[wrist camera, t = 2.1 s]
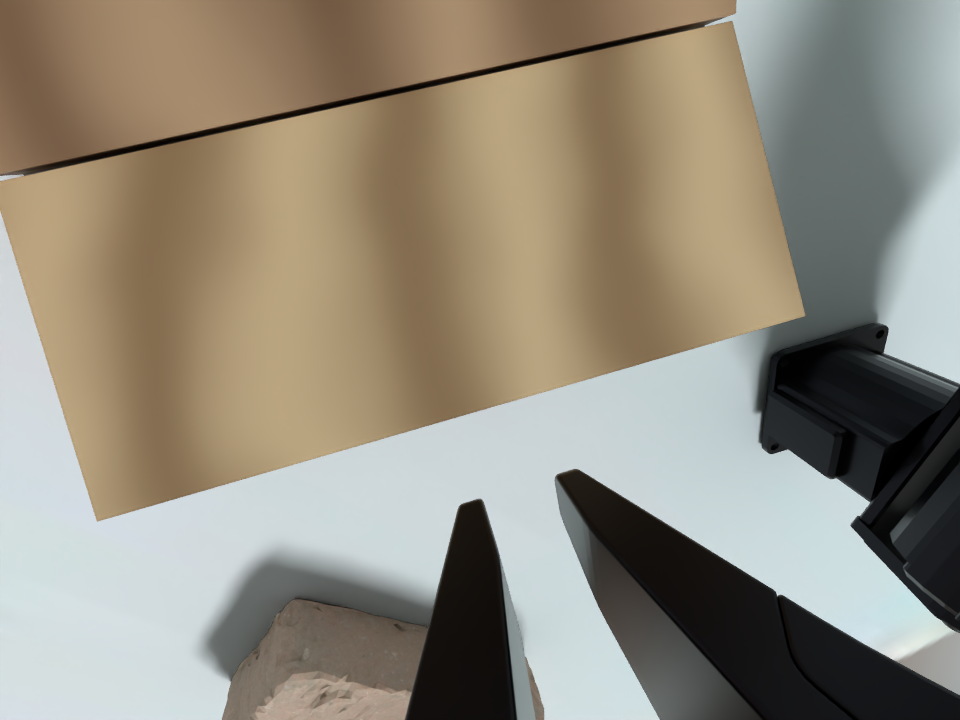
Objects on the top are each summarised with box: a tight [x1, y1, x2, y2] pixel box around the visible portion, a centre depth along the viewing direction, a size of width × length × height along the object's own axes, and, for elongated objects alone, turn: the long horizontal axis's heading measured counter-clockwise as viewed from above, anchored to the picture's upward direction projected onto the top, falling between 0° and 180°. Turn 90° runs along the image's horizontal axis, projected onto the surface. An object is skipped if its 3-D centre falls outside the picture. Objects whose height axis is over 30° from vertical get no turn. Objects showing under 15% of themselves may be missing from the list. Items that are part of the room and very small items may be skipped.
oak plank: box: [0, 21, 805, 521], centre depth 14 cm, size 22×10×2 cm, turn 102°
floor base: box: [0, 0, 736, 176], centre depth 14 cm, size 22×20×2 cm
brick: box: [222, 599, 544, 720], centre depth 26 cm, size 17×8×5 cm, turn 55°
